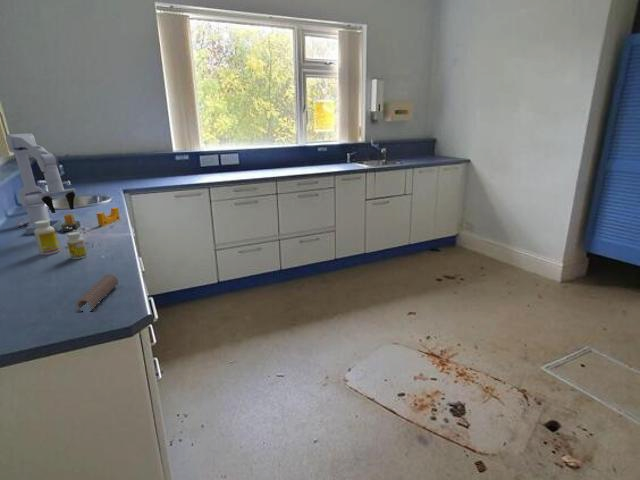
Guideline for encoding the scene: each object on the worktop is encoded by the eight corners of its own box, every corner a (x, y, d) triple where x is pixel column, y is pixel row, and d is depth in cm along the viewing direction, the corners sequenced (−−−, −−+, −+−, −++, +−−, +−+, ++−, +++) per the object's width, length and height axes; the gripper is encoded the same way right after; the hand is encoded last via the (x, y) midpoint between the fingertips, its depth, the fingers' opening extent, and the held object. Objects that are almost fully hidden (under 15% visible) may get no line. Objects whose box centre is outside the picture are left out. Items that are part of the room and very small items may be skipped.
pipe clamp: (112, 219, 200) (110, 207, 198) (120, 219, 199) (118, 207, 197) (95, 226, 189) (93, 213, 187) (103, 226, 188) (101, 213, 186)
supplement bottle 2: (89, 256, 149) (84, 232, 146) (75, 260, 145) (69, 236, 142) (82, 253, 152) (77, 230, 149) (68, 257, 148) (62, 234, 145)
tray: (36, 227, 187) (35, 221, 186) (63, 225, 190) (61, 219, 189) (26, 234, 177) (24, 228, 176) (54, 232, 179) (53, 226, 178)
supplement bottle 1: (63, 250, 155) (56, 220, 151) (48, 256, 150) (39, 224, 145) (51, 249, 158) (44, 218, 153) (35, 254, 152) (27, 223, 148)
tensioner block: (66, 226, 188) (65, 221, 187) (80, 225, 189) (79, 220, 188) (58, 233, 178) (57, 227, 177) (73, 232, 179) (72, 226, 179)
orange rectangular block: (69, 226, 187) (66, 214, 185) (75, 226, 187) (73, 213, 185) (66, 228, 184) (63, 215, 182) (73, 228, 185) (70, 215, 183)
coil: (102, 274, 122) (71, 300, 105) (117, 272, 122) (88, 298, 105) (106, 287, 124) (77, 315, 107) (121, 285, 124) (94, 313, 107)
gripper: (38, 183, 163) (48, 214, 166) (75, 178, 174) (83, 207, 178) (32, 184, 167) (42, 214, 170) (68, 179, 179) (77, 208, 182)
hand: (63, 211), depth 174 cm, fingers open, 7 cm apart
